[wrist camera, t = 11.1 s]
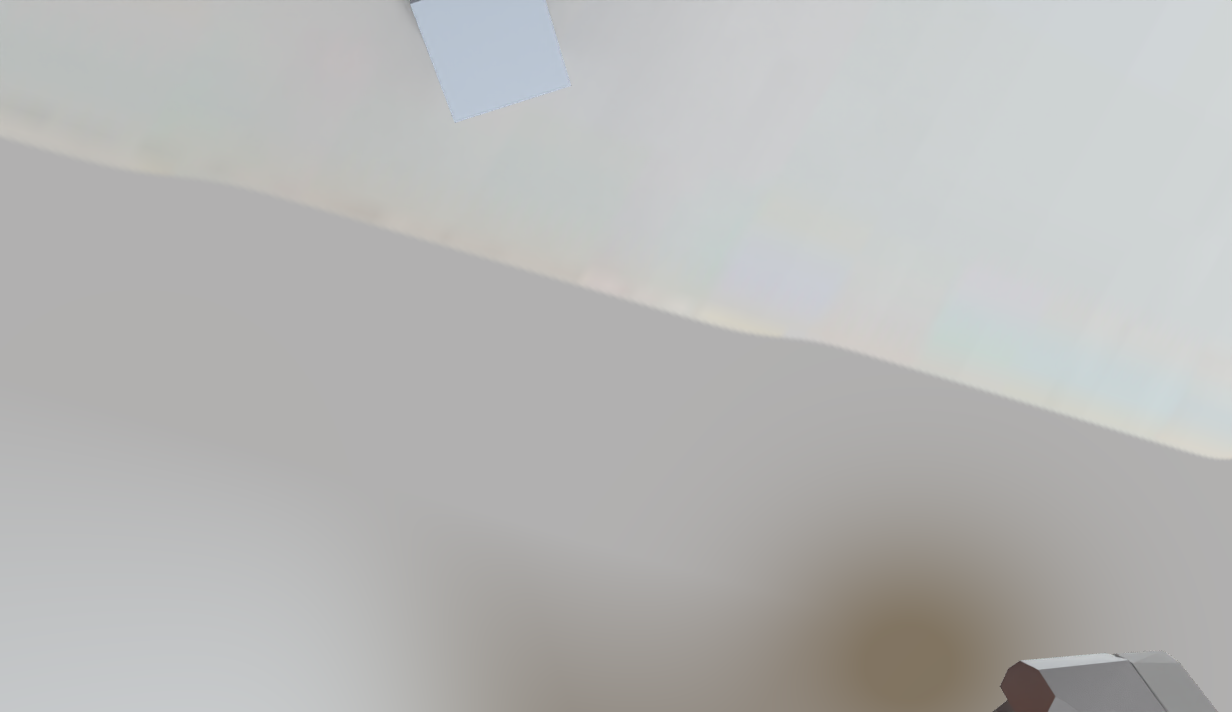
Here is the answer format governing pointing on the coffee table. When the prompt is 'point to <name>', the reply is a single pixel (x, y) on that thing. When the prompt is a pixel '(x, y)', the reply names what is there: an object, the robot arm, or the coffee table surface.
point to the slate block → (490, 52)
